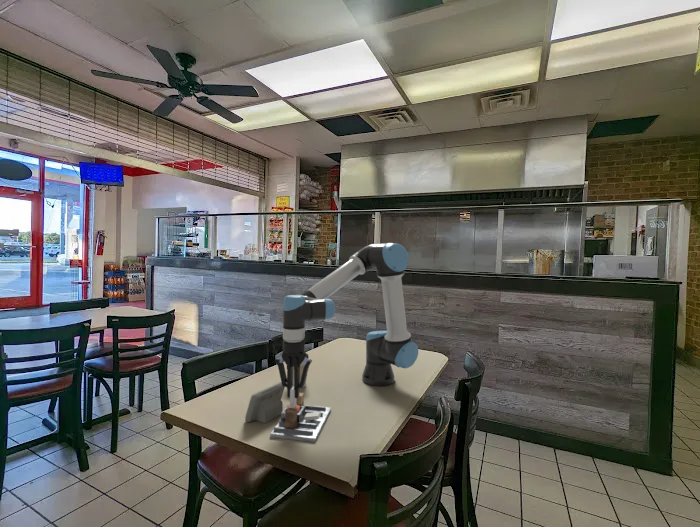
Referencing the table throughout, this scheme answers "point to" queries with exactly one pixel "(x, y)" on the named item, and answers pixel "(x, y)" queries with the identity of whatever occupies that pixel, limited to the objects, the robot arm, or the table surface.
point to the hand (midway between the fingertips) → (293, 406)
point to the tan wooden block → (300, 399)
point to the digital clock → (265, 404)
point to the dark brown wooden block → (291, 418)
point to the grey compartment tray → (302, 425)
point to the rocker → (312, 416)
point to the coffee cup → (301, 371)
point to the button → (295, 408)
